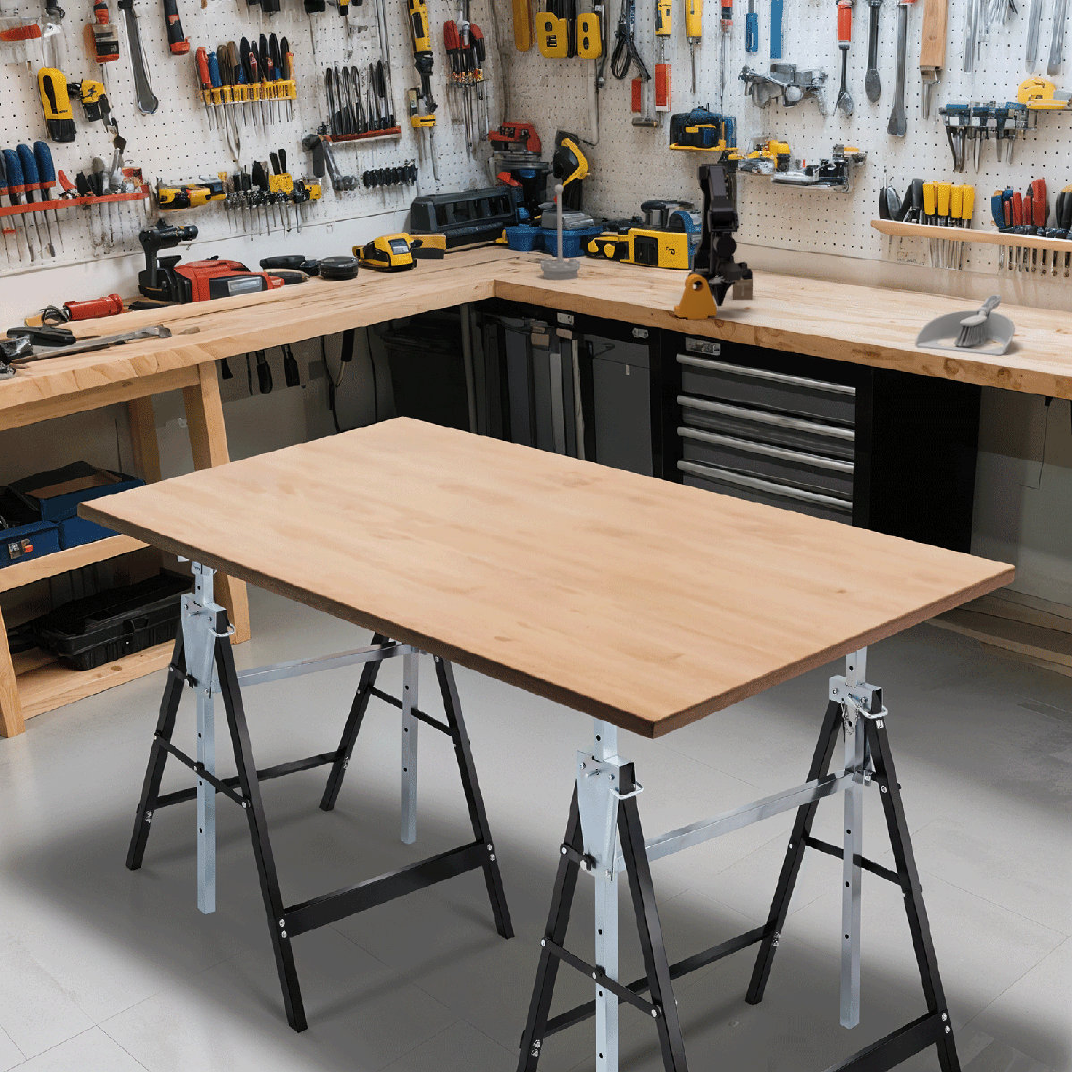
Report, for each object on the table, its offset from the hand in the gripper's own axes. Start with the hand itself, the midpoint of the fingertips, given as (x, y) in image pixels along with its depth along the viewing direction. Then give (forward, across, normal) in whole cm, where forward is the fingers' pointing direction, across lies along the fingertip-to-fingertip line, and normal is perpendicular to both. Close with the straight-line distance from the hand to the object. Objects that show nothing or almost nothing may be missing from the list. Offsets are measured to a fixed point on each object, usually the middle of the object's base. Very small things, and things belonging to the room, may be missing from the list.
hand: (719, 306), depth 391 cm
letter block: (+2, +18, +15) cm, 23 cm away
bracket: (+2, -9, -1) cm, 9 cm away
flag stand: (+3, -14, +77) cm, 78 cm away
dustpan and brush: (+2, +38, -63) cm, 74 cm away
